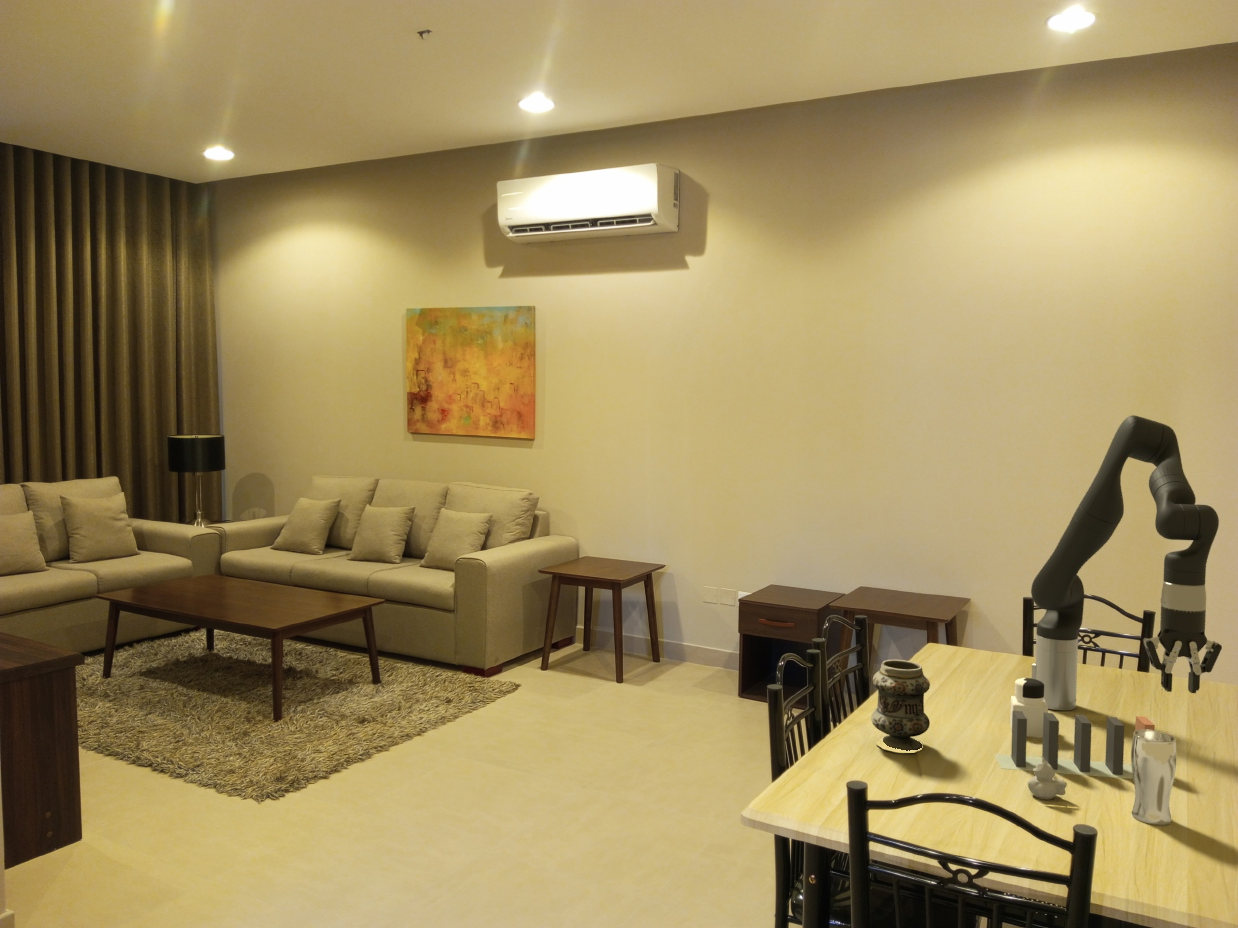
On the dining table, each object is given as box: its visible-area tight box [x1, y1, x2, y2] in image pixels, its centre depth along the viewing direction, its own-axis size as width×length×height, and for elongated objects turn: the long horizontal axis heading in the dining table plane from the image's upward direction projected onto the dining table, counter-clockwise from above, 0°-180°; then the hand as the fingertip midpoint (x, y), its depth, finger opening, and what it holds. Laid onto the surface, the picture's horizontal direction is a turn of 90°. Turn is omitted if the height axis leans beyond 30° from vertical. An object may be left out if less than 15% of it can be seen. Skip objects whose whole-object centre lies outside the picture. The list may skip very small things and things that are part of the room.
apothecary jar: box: [870, 659, 931, 751], centre depth 199 cm, size 12×12×18 cm
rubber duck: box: [1027, 755, 1068, 801], centre depth 173 cm, size 5×7×8 cm
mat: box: [993, 753, 1177, 783], centre depth 187 cm, size 32×8×1 cm, turn 78°
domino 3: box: [1073, 714, 1092, 773], centre depth 187 cm, size 2×5×10 cm, turn 167°
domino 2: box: [1041, 712, 1060, 770], centre depth 188 cm, size 2×5×10 cm, turn 167°
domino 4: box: [1104, 716, 1125, 775], centre depth 186 cm, size 2×5×10 cm, turn 168°
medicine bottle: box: [1009, 677, 1049, 739], centre depth 208 cm, size 7×7×12 cm
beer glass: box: [1130, 729, 1177, 826], centre depth 165 cm, size 7×7×15 cm
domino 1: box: [1010, 711, 1028, 768], centre depth 190 cm, size 2×5×10 cm, turn 168°
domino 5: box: [1134, 715, 1156, 731], centre depth 186 cm, size 2×5×10 cm, turn 169°
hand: (1180, 690), depth 183 cm, fingers open, 3 cm apart
